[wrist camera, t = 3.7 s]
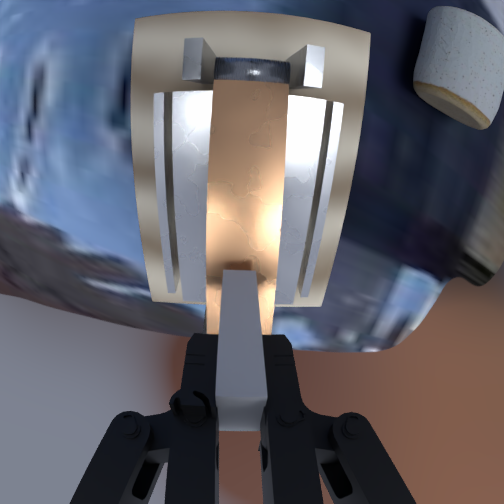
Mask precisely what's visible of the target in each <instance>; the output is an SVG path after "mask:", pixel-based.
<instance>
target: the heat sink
mask: <svg viewBox="0 0 504 504" xmlns="http://www.w3.org/2000/svg"><path fill="white" fill-rule="evenodd" d="M324 57H325V48H324V47H319V46H314V45H308V44H307V45H306V46H304V47H303V48H301V49H300V50H299V51H297V52H296V53H294V54H293V55H292V56H290V57H289V58H288V59H286V60H285V61H289V62H290V66H291V72H290V82H289V89H312V88H322V80H323V69H324ZM215 59H216V55H215V53H214V52H213V51H212V49H211V48H210V46H209V45H208V44H207V42H206V41H205V39H204V38H185V39H184V53H183V70H182V80H185V81H190V82H195V83H199V84H214V66H215ZM212 96H213V91H175V92H162V93H154V158H155V178H156V193H157V206H158V217H159V227H160V237H161V245H162V254H163V261H164V269H165V276H166V283H167V289H168V293H176V290H177V287H178V283H179V279H181V288H182V296H183V301H191V302H206V221H207V185H208V161H209V141H210V124H211V110H212ZM343 106H344V104H343V103H338V102H332V101H326V100H322V99H315V98H308V97H301V96H293V95H289V98H288V121H287V140H286V158H285V175H284V190H283V205H282V218H281V232H280V244H279V256H278V268H277V279H276V290H275V301H274V304H293V302H294V297H295V292H296V287H297V286H298V290H299V294H300V297H308V295H309V291H310V287H311V283H312V279H313V274H314V270H315V266H316V261H317V257H318V252H319V248H320V243H321V238H322V234H323V229H324V224H325V219H326V214H327V209H328V203H329V198H330V192H331V187H332V181H333V175H334V169H335V163H336V157H337V150H338V144H339V137H340V130H341V122H342V114H343ZM203 334H207V313H206V311H205V319H204V327H203ZM271 335H272V332H271Z"/></svg>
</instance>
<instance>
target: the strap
mask: <svg viewBox="0 0 504 504" xmlns="http://www.w3.org/2000/svg"><path fill="white" fill-rule="evenodd" d="M290 72H291V66H290V62H289V61H281V60H271V59H259V58H242V57H216V59H215V66H214V84H213V96H212V110H211V124H210V141H209V161H208V185H207V221H206V313H207V334H219V321H220V307H221V293H222V280H223V270H249V271H256V277H257V288H258V298H259V309H260V320H261V331H262V335H271V331H272V321H273V311H274V301H275V290H276V279H277V268H278V256H279V244H280V232H281V218H282V205H283V190H284V175H285V158H286V140H287V121H288V98H289V82H290Z"/></svg>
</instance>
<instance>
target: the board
mask: <svg viewBox="0 0 504 504" xmlns="http://www.w3.org/2000/svg"><path fill="white" fill-rule="evenodd" d="M370 34H371V33H368V32H365V31H362V30H358V29H355V28H351V27H347V26H343V25H339V24H335V23H330V22H326V21H321V20H315V19H310V18H304V17H298V16H291V15H283V14H274V13H264V12H249V11H197V12H182V13H171V14H163V15H155V16H148V17H142V18H136V19H135V25H134V35H133V48H132V66H131V138H132V157H133V171H134V183H135V193H136V203H137V211H138V219H139V227H140V234H141V241H142V247H143V254H144V260H145V265H146V271H147V276H148V282H149V287H150V292H151V296H152V301H156V302H171V303H187V304H206V302H191V301H183V296H182V288H181V279H179V283H178V287H177V290H176V293H168V289H167V283H166V276H165V269H164V261H163V254H162V245H161V237H160V227H159V217H158V206H157V193H156V178H155V158H154V93H162V92H175V91H213V84H199V83H195V82H190V81H185V80H182V70H183V53H184V39H185V38H204V39H205V41H206V42H207V44H208V45H209V46H210V48H211V49H212V51H213V52H214V53H215V55H216V57H242V58H259V59H271V60H281V61H285V60H286V59H288V58H289V57H290V56H292V55H293V54H294V53H296V52H297V51H299V50H300V49H301V48H303V47H304V46H306V45H307V44H308V45H314V46H319V47H324V48H325V57H324V69H323V80H322V88H312V89H289V95H293V96H301V97H308V98H315V99H322V100H326V101H332V102H338V103H343V104H344V106H343V114H342V122H341V130H340V137H339V144H338V150H337V157H336V163H335V169H334V175H333V181H332V187H331V192H330V198H329V203H328V209H327V214H326V219H325V224H324V229H323V234H322V238H321V243H320V248H319V252H318V257H317V261H316V266H315V270H314V274H313V279H312V283H311V287H310V291H309V295H308V297H300V294H299V290H298V286H297V287H296V292H295V297H294V302H293V304H274V307H321V305H322V301H323V298H324V294H325V291H326V288H327V284H328V280H329V277H330V273H331V269H332V266H333V262H334V258H335V254H336V250H337V246H338V242H339V238H340V234H341V230H342V225H343V221H344V217H345V212H346V208H347V203H348V198H349V193H350V188H351V183H352V178H353V173H354V167H355V162H356V156H357V150H358V144H359V138H360V131H361V125H362V118H363V110H364V102H365V94H366V85H367V75H368V64H369V51H370Z"/></svg>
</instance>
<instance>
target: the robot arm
mask: <svg viewBox="0 0 504 504" xmlns="http://www.w3.org/2000/svg"><path fill="white" fill-rule="evenodd" d="M169 405H170V407H171V410H169V411H167V412H165V413H162V414H157V415H151V416H143V415H141V414H139V413H138V412H133V411H126V412H122V413H120V414H118V415H117V416H116V417H115V418H114V419H113V420H112V422H111V424H110V426H109V427H108V429H107V431H106V433H105V435H104V437H103V439H102V440H101V442H100V444H99V446H98V448H97V450H96V452H95V454H94V456H93V458H92V460H91V462H90V464H89V465H88V467H87V469H86V471H85V474H84V475H83V477H82V479H81V481H80V483H79V485H78V487H77V489H76V492H75V494H74V495H73V498H72V500H71V502H70V504H148V502H149V499H150V497H151V494H152V492H153V490H154V487H155V485H156V482H157V480H158V477H159V475H160V473H161V470H162V468H163V465H164V463H165V462H168V468H167V479H166V492H165V504H219V430H222V431H261V441H260V445H259V449H258V451H260V456H261V470H262V471H261V472H262V488H263V504H323V497H322V491H321V484H320V478H319V473H320V475H321V477H322V479H323V482H324V484H325V486H326V488H327V490H328V492H329V494H330V496H331V498H332V500H333V503H334V504H416V502H415V500H414V498H413V497H412V495H411V493H410V491H409V490H408V488H407V486H406V484H405V483H404V481H403V479H402V478H401V476H400V474H399V472H398V471H397V469H396V467H395V465H394V464H393V462H392V460H391V459H390V457H389V455H388V453H387V452H386V450H385V449H384V447H383V445H382V443H381V441H380V440H379V438H378V436H377V435H376V433H375V431H374V430H373V428H372V426H371V424H370V423H369V421H368V420H367V419H366V418H365V417H364V416H362V415H360V414H358V413H353V412H349V413H344V414H342V415H341V416H339V417H331V416H325V415H320V414H317V413H314V412H312V411H311V410H309V409H308V408H307V407H306V406H305V405H304V403H303V402H302V398H301V394H300V388H299V383H298V377H297V372H296V367H295V361H294V357H293V350H292V345H291V343H290V342H289V340H288V339H287V337H286V336H285V335H262V331H261V320H260V309H259V298H258V288H257V277H256V271H249V270H223V280H222V293H221V307H220V321H219V334H200V333H194V335H193V336H192V337H191V339H190V340H189V341H188V344H187V350H186V357H185V364H184V369H183V376H182V383H181V389H180V390H178V391H177V392H176V393H175V394H174V395H173V396H172V397H171V399H170V402H169Z"/></svg>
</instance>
